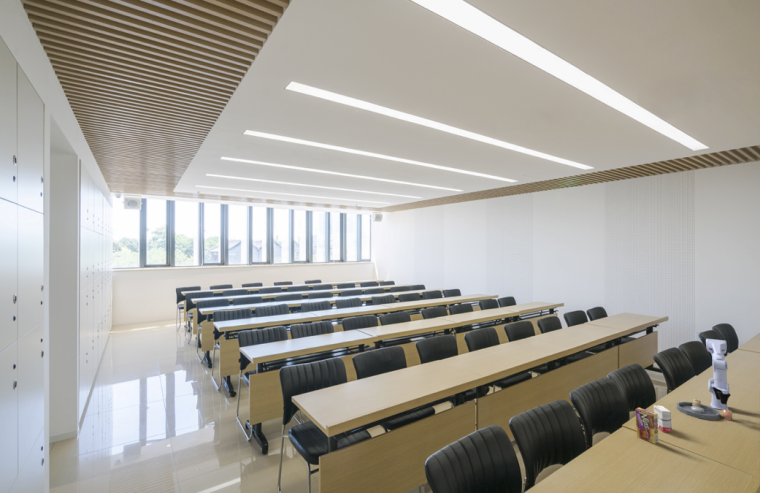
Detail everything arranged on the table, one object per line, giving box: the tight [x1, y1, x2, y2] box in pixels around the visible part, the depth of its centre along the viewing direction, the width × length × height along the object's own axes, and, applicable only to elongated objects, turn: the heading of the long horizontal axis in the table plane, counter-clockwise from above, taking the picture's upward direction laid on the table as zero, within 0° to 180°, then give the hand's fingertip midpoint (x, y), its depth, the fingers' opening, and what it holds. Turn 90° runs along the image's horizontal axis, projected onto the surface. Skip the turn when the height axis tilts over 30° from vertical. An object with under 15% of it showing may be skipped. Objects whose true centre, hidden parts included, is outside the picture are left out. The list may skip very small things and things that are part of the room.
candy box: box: [635, 407, 659, 445], centre depth 187 cm, size 9×4×15 cm, turn 26°
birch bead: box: [691, 399, 702, 408], centre depth 223 cm, size 4×4×5 cm
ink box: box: [653, 404, 673, 433], centre depth 198 cm, size 9×5×12 cm, turn 168°
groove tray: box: [676, 401, 721, 421], centre depth 218 cm, size 20×20×3 cm
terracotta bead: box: [722, 409, 733, 422], centre depth 209 cm, size 4×4×5 cm
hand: (721, 401), depth 212 cm, fingers open, 7 cm apart
